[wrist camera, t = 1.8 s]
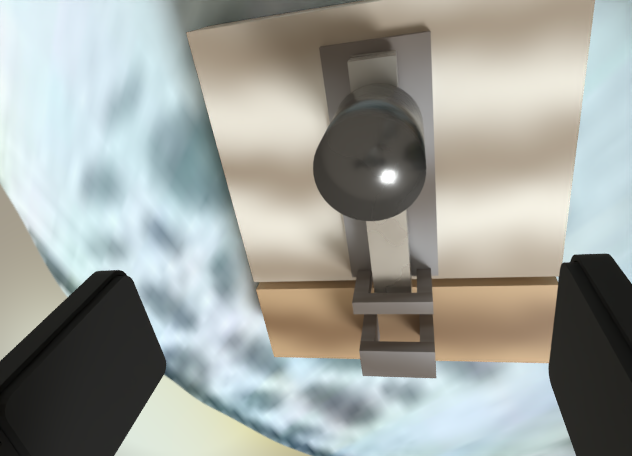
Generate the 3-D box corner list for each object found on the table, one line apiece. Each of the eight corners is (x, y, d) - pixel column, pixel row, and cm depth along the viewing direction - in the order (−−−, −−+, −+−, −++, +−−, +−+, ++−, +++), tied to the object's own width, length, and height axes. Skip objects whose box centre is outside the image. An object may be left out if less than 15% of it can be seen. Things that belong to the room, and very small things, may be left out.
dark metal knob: (329, 58, 21) (299, 92, 15) (419, 46, 20) (422, 77, 14) (360, 286, 27) (347, 372, 21) (429, 286, 26) (435, 374, 20)
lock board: (209, 25, 24) (151, 42, 19) (575, -36, 20) (636, -37, 15) (284, 328, 35) (260, 395, 29) (537, 329, 30) (565, 409, 25)
